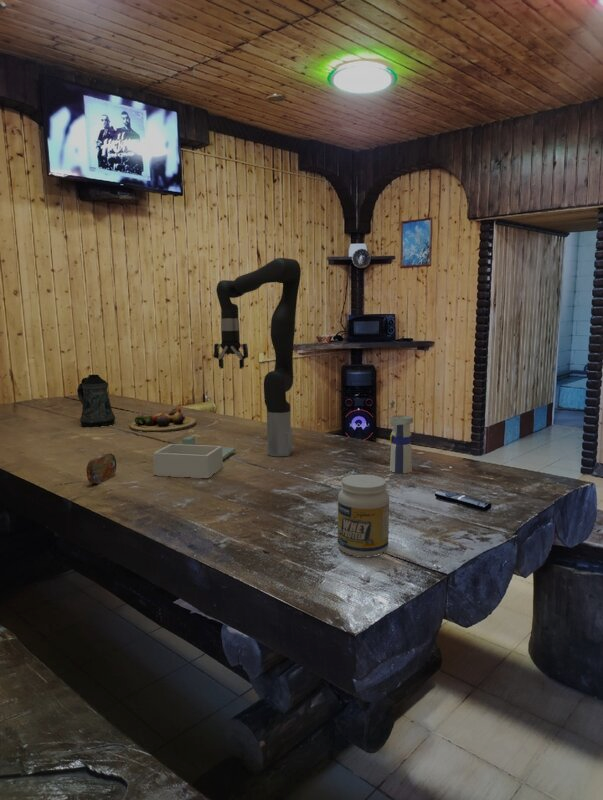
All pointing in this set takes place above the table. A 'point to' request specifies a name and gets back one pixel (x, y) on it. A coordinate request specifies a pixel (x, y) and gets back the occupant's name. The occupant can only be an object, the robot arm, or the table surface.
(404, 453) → the water bottle
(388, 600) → the table surface
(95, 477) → the tin
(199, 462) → the parts tub
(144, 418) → the wooden plate with food
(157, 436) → the table surface
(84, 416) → the beer stein
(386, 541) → the supplement tub
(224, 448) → the lid
